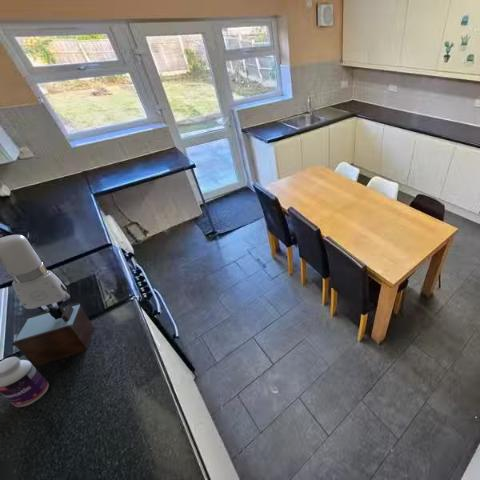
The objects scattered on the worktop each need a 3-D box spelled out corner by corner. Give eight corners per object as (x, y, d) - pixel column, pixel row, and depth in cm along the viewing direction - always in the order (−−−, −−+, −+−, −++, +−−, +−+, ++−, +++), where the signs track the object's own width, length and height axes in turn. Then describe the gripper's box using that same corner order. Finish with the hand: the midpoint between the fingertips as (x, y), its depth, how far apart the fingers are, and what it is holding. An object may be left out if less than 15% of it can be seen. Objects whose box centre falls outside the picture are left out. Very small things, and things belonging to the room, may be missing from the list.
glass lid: (15, 342, 85) (9, 335, 84) (29, 319, 94) (24, 313, 92) (72, 325, 91) (67, 319, 89) (80, 305, 99) (76, 299, 98)
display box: (34, 368, 90) (11, 343, 84) (47, 341, 100) (28, 316, 94) (87, 351, 96) (69, 326, 89) (94, 326, 106) (79, 302, 99)
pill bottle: (9, 413, 78) (-25, 383, 71) (22, 388, 84) (-7, 359, 77) (44, 401, 81) (15, 371, 73) (54, 378, 87) (29, 348, 80)
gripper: (-9, 287, 78) (27, 331, 87) (56, 272, 83) (83, 315, 93) (3, 273, 84) (36, 316, 93) (63, 260, 89) (88, 302, 98)
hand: (59, 316), depth 93 cm, fingers closed
